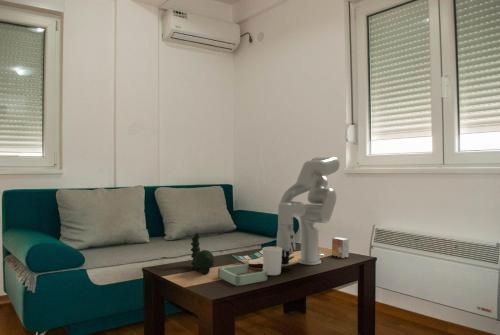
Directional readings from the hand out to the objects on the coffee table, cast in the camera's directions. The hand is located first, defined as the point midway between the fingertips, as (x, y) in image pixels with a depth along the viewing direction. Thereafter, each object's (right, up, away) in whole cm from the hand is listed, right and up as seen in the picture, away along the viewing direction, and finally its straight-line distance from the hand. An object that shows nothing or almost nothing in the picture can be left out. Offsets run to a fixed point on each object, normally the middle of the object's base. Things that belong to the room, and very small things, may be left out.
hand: (285, 264), depth 194 cm
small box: (+35, -4, +32) cm, 48 cm away
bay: (-21, -3, -14) cm, 25 cm away
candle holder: (-7, -4, -4) cm, 9 cm away
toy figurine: (-42, -3, 0) cm, 42 cm away
